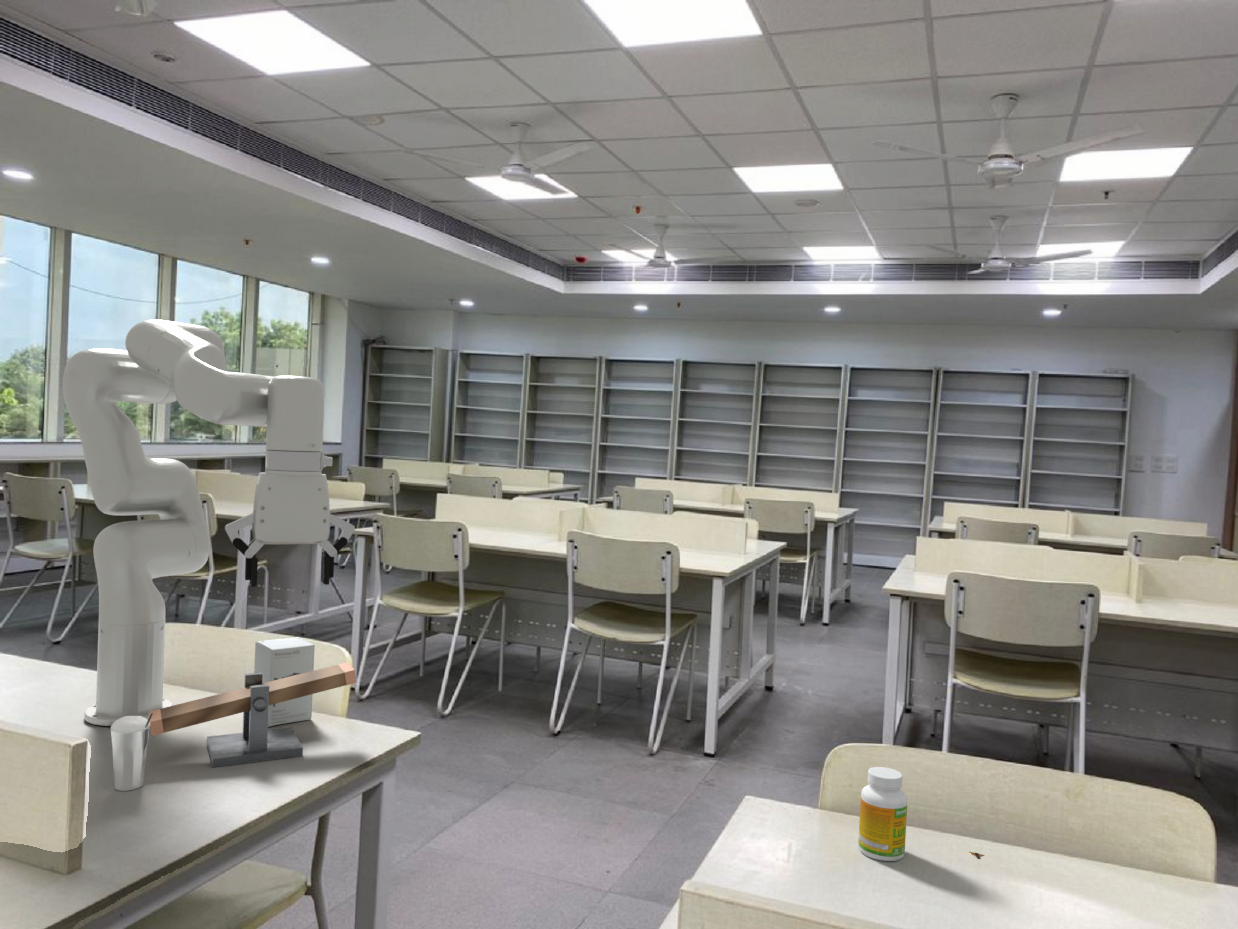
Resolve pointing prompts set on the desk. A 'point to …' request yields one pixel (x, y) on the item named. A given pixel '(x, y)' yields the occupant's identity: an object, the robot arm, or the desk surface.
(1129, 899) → the desk surface
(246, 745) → the beam stand
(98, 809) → the desk surface
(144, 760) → the milkshake
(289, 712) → the supplement box
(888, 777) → the supplement bottle
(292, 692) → the beam
